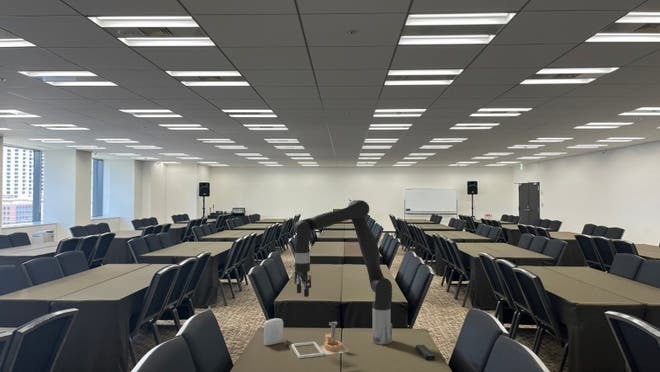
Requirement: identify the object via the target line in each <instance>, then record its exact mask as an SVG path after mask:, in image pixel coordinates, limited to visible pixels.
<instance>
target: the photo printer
mask: <svg viewBox="0 0 660 372" xmlns="http://www.w3.org/2000/svg"><path fill="white" fill-rule="evenodd" d="M283 342H284V321H283V318H278V317H277V318H270V319H268V320H266V321H264V323H263V345H264V346H270V345H275V344H280V343H283Z"/></svg>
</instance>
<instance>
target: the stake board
mask: <svg viewBox="0 0 660 372" xmlns="http://www.w3.org/2000/svg"><path fill="white" fill-rule="evenodd" d="M328 323H329V326H331V327H330V328H331V329H330V334H331V346H335V341H336V326H337V325H338V322H337V321H331V322H329V321H328ZM318 346H319V347H320V349H321V350H322V351H323V352H324V355H325V356H326V355H327V356H328V355H334V354H335V355H336V354H343V353H350V352H351V351H350V350H349V348H347V347H346V346H345V345H344V344H343V348H342V349H341V350H338V351H329V350H326V349H325V348H324V344H323V345H318Z"/></svg>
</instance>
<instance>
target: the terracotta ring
mask: <svg viewBox="0 0 660 372" xmlns="http://www.w3.org/2000/svg"><path fill="white" fill-rule="evenodd" d="M324 335H325V337H324V338H325V339H324V343H323V345H324V348H325V349H326V350H329V351H338V350H341V349H342V348H343V345H344V344H343V343H342V342H341V341H339V340H335V346H331V333H325V334H324Z"/></svg>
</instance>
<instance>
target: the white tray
mask: <svg viewBox="0 0 660 372" xmlns="http://www.w3.org/2000/svg"><path fill="white" fill-rule="evenodd" d="M312 345H314V347H315V348H316V349H317V350H318V352H317V353H309V354H308V353H307V354H300V352H299V351H298V350H297V348H296V347H301V346H302V347H303V346H312ZM319 346H320V345H319V344H317V342H315V341H308V342H299V343H298V342H297V343H291V348H292V350H293V351H294V353H295V354H296V356H297V358H298V359H305V358H312V357H313V358H314V357H320V356H321V357H322V356H325V353H324V352H323V351H322V349H321V348H320V347H319Z"/></svg>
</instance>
